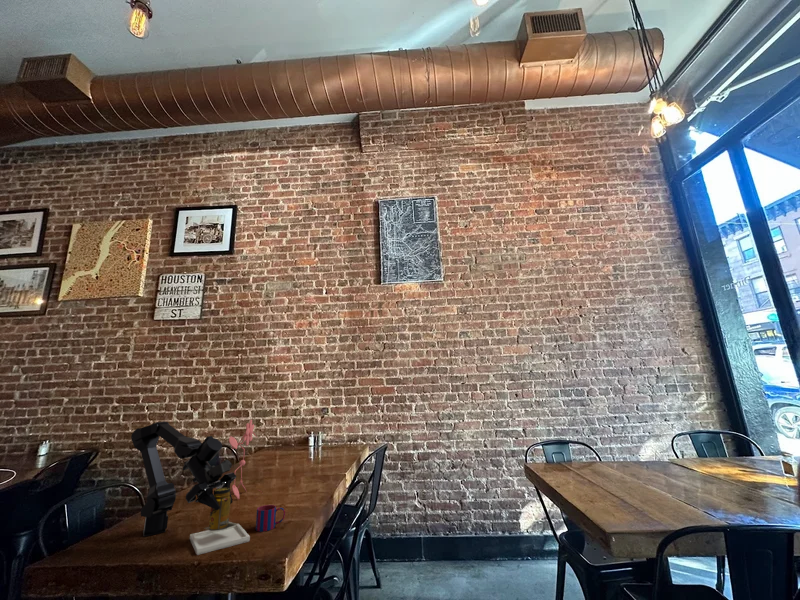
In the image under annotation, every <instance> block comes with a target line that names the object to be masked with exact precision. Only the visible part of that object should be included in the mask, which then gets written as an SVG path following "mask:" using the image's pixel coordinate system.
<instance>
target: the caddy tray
mask: <svg viewBox="0 0 800 600" xmlns="http://www.w3.org/2000/svg"><path fill="white" fill-rule="evenodd" d="M236 524H237V525H235V526H232V527H229V528H227V529H224V530H221V531H218V532H213V531H209V530H203V531H200V532H195V533H191V534H189V542H190V544H191V545H192V547H193V550H194V552H195V555H196V556H199V555H203V554H207V553H211V552H214V551H218V550H219V551H220V550H221V549H225V548H230V547H232V546H233V547H234V546H237V545H241V544H244V543H250V540H251V535H249V533H247V531H246V530H245V529H244V528H243V527H242V525H240V523H236Z"/></svg>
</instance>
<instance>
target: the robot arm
mask: <svg viewBox="0 0 800 600" xmlns="http://www.w3.org/2000/svg"><path fill="white" fill-rule="evenodd" d="M130 435H131V436H130V437H131V438H130V439H131V442H132V445H133V447H134V448H135V449H137V450H138V451H139V452H140V453H141V457H142V461H143V465H144V466H143V467H144V469H145V474H146V477H147V482H148V486H149V490H148V493H147V495H146V503H145V504H144V505H143V506H142V508H140V517H144V518H145V519H144V520H145V521H144V527H143V530H142V533H143V535H142V536H143V537H149V536H155V535H158V534H163V533H166V529H167V528H168V522H169V521H168V520H169V515H168V512H169V511H172V510H173V507H174V506H175V505H174V504H175V503H176V499H177V495H176V494H177V491H176V488H175V484H174V483H173V482H167V481H166V478H165V474H164V471H163V466H162V463H161V459H160V454H159V452H158V448H157V445H158V442H159V440H160V438H161V439H162V440H164V441H165V442H166V443H168V444H169V445H170V446H172V447H173V452H174V453H175V455H176V456H177V458H179V459H180V460H184V459H189V460H186V461H184V464H183V467H182V470H183V471H186V470H188V469H189V471H190V472H191V475H192V476H193V479H192V482H193V483H196V482H197V484H194V485H193V486H192V487H191V489H190V490H188V491H187V493H186V494H185V500H186V503H188V504H190V503H192V502H195V503H200V504H202V505H205V506H207V507H210V509H211V508H213V509H216V510H219V509H220V506H219V504H218V502H217V500H216V498H215V496H214V489H218V488H230V489H231V484H232V483H233V482H234V479H235V480H236V478H237V475H236V473H235V472H232V471H231V468H232V462H231V461H230V460H229V459H226V460H224V461H221V463H219V464H217V465H210V463H209V462H210V461H212V460H213V459H214V458H215V456H216V455H217V454H218V453H219V452H220V451H221V450H222V448H223V444H222V442H221V440H219V439H217V438H214V436H213V435H209V436H206V438H204V441H202V442H201V441H200V440H199V439H196V438H194V437H190V436H185V435H184V434H183V433H181V432H180V431H178V429H176V428H175V427H173V426H172V425H171V424H170V423H169V422H168V421H166V420H164V421H158V422H157V421H156V422H153V423H151V424H149V425H147V426H144V427H137V428H136V429H134V431H133V432H132V433H131V434H130ZM230 471H231V472H230ZM225 473H226V474H225ZM223 474H224V475H223ZM230 497H231V502H230V505H231V504H233V496H232V493H231V491H230Z"/></svg>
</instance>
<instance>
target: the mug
mask: <svg viewBox="0 0 800 600" xmlns="http://www.w3.org/2000/svg"><path fill="white" fill-rule="evenodd" d="M279 510H281V511H283V517H282V519H280V520H277V521H276V517H277V512H278V511H279ZM255 516H256V519H255V520H256V521H255V530H256V531H257V532H262V533H263V532H269V531H271V530H273V529H275V527H276V525H277V524H280V523H282V522H283V520H284V519H285V516H286V511H285V508H283V507H278V508H277V506H276V505H275V504H266V505H261V506H259V507H257V508H256V515H255Z"/></svg>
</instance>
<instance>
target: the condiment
mask: <svg viewBox="0 0 800 600" xmlns="http://www.w3.org/2000/svg"><path fill="white" fill-rule="evenodd" d="M230 492H231V487H230V488H218V489H217V488H215V489H213V495H214V496H215V498H216V500H217V502H218V504H219V506H220V509H219V510H216V509H213V508H211V507H210V512H209V513H210V514H209V521H208V523H209V524H208V526H206V527H204V528H203V529H205V531H207V530H209V531H213V532H218V531H221V530H224V529H227V528H229V527H232V526H235V525H237V524H238V523H236V522H232V521H229V520H230V512H231V504H230V502H231V497H230Z"/></svg>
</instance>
